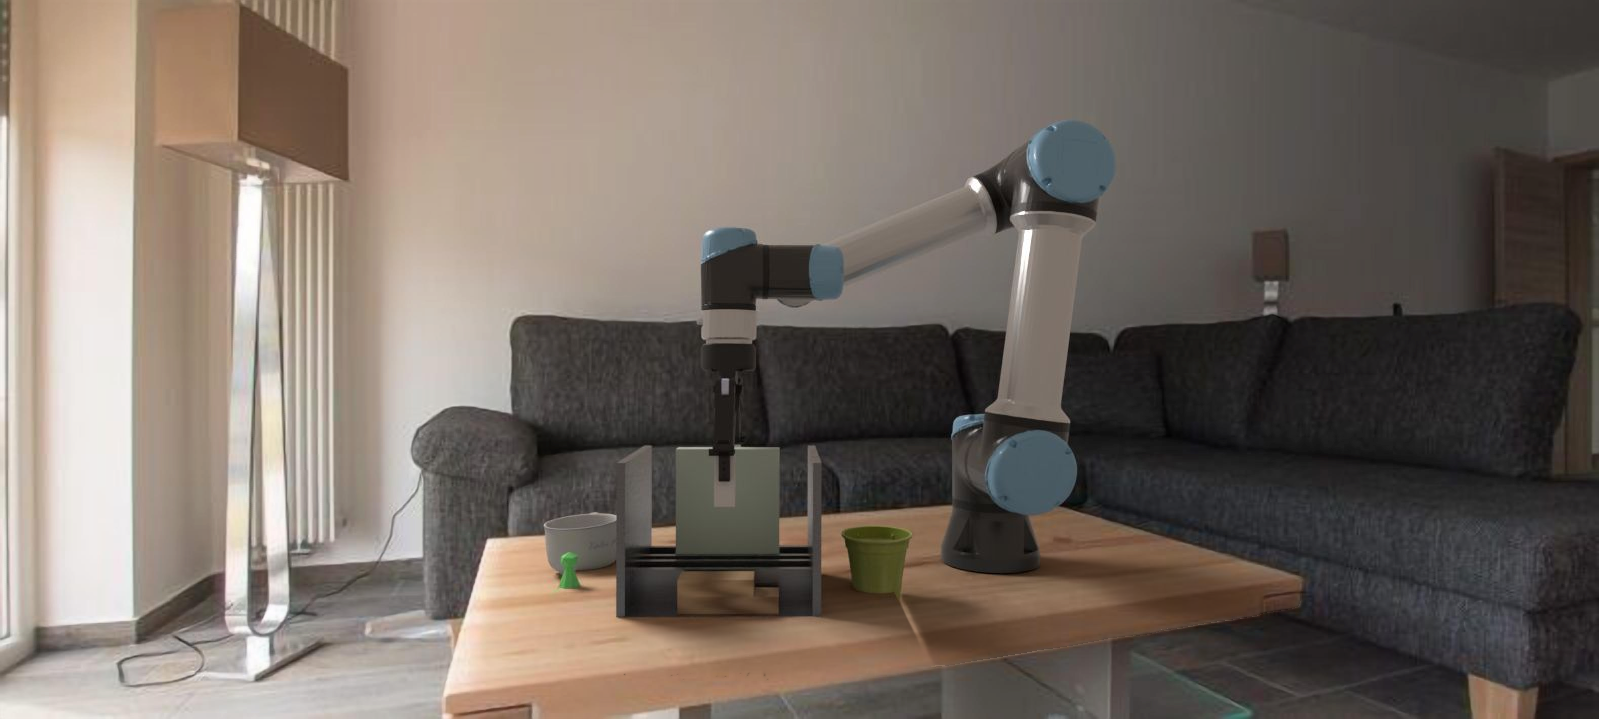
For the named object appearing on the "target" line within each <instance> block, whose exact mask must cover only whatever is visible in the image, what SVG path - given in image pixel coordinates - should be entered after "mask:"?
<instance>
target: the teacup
mask: <svg viewBox="0 0 1599 719" xmlns="http://www.w3.org/2000/svg"><path fill="white" fill-rule="evenodd" d="M543 528H544V539H545V550H546V552H545V553H546V557H547V558H546V559H547V562H548V564H549V566H550V567H551V568H552V569H553V570H555V571H556V572H558V573H559V574H560V575H561V576H563V573H564V570H565V566H563V565H561V556H563V555H564V554H566V553H568V552H571V553H573V554H576V555H578V561H577V565H575V566H573V568H574V571H575V572H577V571H588V570H596V569H597V570H598V569H602V568H606V567H608V566H610V565H613V563H614V562H615V561H616V514H611V513H600V512H597V511H595V512H590V513H582V514H574V515H573V514H572V515H567V516H563V517H558V518H554V519H551V520H547V521H546V522H545V523H544V524H543Z"/></svg>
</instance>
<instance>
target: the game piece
mask: <svg viewBox="0 0 1599 719" xmlns="http://www.w3.org/2000/svg"><path fill="white" fill-rule="evenodd" d="M577 561H578V555H576V554H573V553H571V552H568V553H566V554H564V555H563V556H561V565H563V566H565V570H564V573H563V575H561V578H560V582H559V584H558V587H557V589H554V590H553V592H552V595H554V594H555V593H556V592H557V591H558V589H563V590H565V589H575V588H578V587H580V585H581V583H580V581H579V578H578V576H577V573H576V571H574V568H573V566H575V565H577Z"/></svg>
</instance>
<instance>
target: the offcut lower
mask: <svg viewBox="0 0 1599 719" xmlns="http://www.w3.org/2000/svg"><path fill="white" fill-rule="evenodd" d="M677 614H779V587H755V588H754V596H753V597H677Z"/></svg>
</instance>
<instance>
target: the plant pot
mask: <svg viewBox="0 0 1599 719" xmlns="http://www.w3.org/2000/svg"><path fill="white" fill-rule="evenodd" d="M840 533H841V537H842V538H843V539H844V544H845V548H846V550H847V556H848V562H849V569H850V575H851V576H850V577H851V582H852V585H851V586H852V588H853V589H855V590H856V591H859V592H861V593H868V594H889V593H894V594H895V596H896V599H897V600H900V598H901V592H902V591H901V590H902V585H903V576H904V570H905V561H906V554H907V550H908V548H909V545H910V540H911V539H913V533H912V531H910V530H908V529H906V528H902V527H896V526H891V525H890V526H889V525H862V526H861V525H859V526H854V527H847V528H846V529H843V530H842V531H841V532H840Z"/></svg>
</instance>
